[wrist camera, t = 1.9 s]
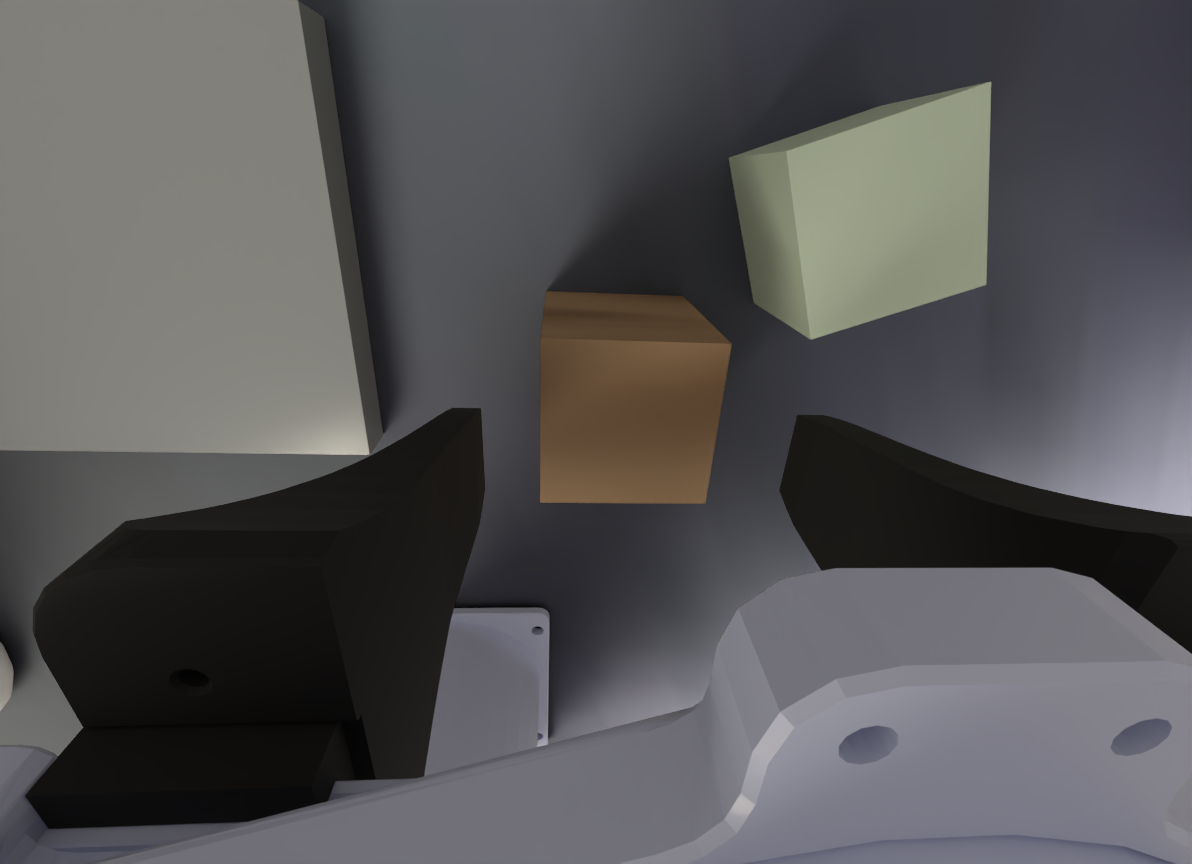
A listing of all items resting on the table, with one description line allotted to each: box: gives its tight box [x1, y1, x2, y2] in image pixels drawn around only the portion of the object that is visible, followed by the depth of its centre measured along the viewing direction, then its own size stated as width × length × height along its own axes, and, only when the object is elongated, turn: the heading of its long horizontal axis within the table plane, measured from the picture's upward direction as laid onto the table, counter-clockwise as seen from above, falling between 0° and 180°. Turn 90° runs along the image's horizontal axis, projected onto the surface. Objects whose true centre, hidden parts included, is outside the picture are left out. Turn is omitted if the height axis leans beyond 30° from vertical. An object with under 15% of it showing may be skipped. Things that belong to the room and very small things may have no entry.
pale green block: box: [729, 82, 991, 340], centre depth 14 cm, size 4×4×4 cm
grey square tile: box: [0, 0, 383, 455], centre depth 15 cm, size 12×12×2 cm
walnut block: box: [540, 291, 732, 504], centre depth 16 cm, size 4×4×6 cm
